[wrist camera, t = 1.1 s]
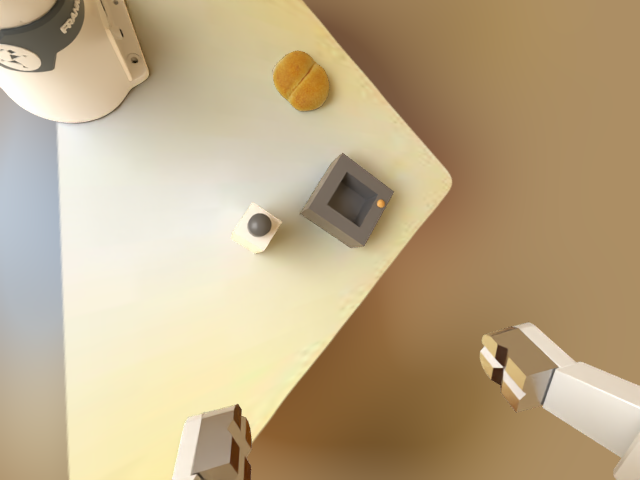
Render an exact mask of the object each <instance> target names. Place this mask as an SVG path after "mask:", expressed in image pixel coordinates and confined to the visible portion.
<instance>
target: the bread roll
mask: <svg viewBox="0 0 640 480" xmlns="http://www.w3.org/2000/svg"><path fill="white" fill-rule="evenodd" d="M273 81H274V85H275V87H276V89H277V90H278V92H279V93H280V94H281V95H282V96H283V97H284V98H285V99H286V100H287V101H289V103H290V104H291V105H292V106H293V107H294V108H295V109H297V110H299V111H309V110H314V109H317V108H319V107H321V105H323V103H324V102H325V100H326V99H327V96H328V93H329V81H328V77H327V75H326V72H325V70H324V69H323V68H322V67H321V66H320V65H318V64H317V63H316V62H315V61H314V60H313V59H312V58H311V57H310V56H309V55H308V54H306V53H305V52H302V51H294V52H291V53H289V54H287V55H285V57H283V58H282V59H281V60H280V61H279V62H278V63H277V64H276V65H275V66H274V68H273Z"/></svg>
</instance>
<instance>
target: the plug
mask: <svg viewBox="0 0 640 480" xmlns="http://www.w3.org/2000/svg"><path fill="white" fill-rule="evenodd" d="M281 223H282V221H281V220H279V219H278V218H276V217H275V216H273V215H272V214H270V213H269V212H267V211H265V210H264V209H262V208H261V207H259V206H258V205H256V204H255V203H253V202H252V204H251V205H250V207H249V208H248V210H247V211H246V213H245V214H244V216H243V217H242V218H241V220H240V221H239V223H238V224H237V226H236V227H235V229H234V230H233V232H232V236H231V240H233V241H235V242H236V243H238V244H240V245H241V246H243V247H244V248H246V249H248V250H249V251H251V252H253V253H254V254H255V253H259V252H262V251H264V250H265V248H266V247H267V245H268V244H269V242H270V241H271V239H272V237H273V236H274V234H275V233H276V231H277V230H278V228H279V226H280V225H281Z"/></svg>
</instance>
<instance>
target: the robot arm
mask: <svg viewBox="0 0 640 480" xmlns="http://www.w3.org/2000/svg"><path fill="white" fill-rule="evenodd" d="M133 61H138V62H137V63H132V62H133ZM148 76H149V70H148V67H147V64H146V61H145V58H144V56H143V53H142V50H141V47H140V44H139V41H138V39H137V36H136V33H135V30H134V27H133V24H132V21H131V19H130V16H129V13H128V10H127V7H126V4H125V2H124V0H0V87H1V88H2V89H3V90H4V91H5V92H6V93H7V94H8V96H9V97H10V98H11V99H13V101H15V102H16V103H17V104H18V105H20V106H21V107H22V108H24V109H26V110H27V111H29V112H31V113H33V114H35V115H37V116H40V117H42V118H45V119H49V120H52V121H57V122H66V123H79V122H86V121H91V120H95V119H98V118H100V117H103V116H105V115H107V114H108V113H110V112H111V111H113V110H114V109H115V108H116V107H118V106H119V104H120V103H121V102H122V101H123V100H124V98H125V97H126V95H127V94H128V92H129V91H130V90H131V89H132V88H133V87H135V86H137V85H138V84H140V83H142V82H143V81H145V80H146V79H147V78H148ZM482 343H483V345H484V348H483V349H482V350H481V351H480V360H481V364H482V367H483V369H484V370H485V372H486V374H487V375H488V376H489V378H490V379H491V380H492V381H494V382H496V383H497V384H499V385H500V388H501V394H502V395H503V396H504V398H505V399H506V400H507V402H508V403H509V404H510V405H511V407H512V408H513V409H514V411H515V412H516V413H517V412H521V411H524V410H528V409H532V408H536V407H539V406H543V408H544V409H546V410H547V411H549V412H550V413H552V414H553V415H555V416H557V417H558V418H560V419H561V420H563V421H564V422H566V423H568V424H569V425H571V426H572V427H574V428H575V429H577V430H579V431H580V432H582V433H583V434H585V435H587V436H589V437H590V438H591V439H593V440H594V441H596V442H598V443H599V444H601V445H602V446H604V447H605V448H607V449H609V450H610V451H612V452H613V453H615V454H616V455H618V456H620V457H621V460H620V461H619V463H618V464H617V466H616V468H615V469H614V477H615V478H616V479H617V480H640V386H638V385H636V384H634V383H631V382H629V381H626V380H624V379H622V378H619V377H617V376H614V375H612V374H609V373H607V372H605V371H602V370H600V369H597V368H595V367H593V366H590V365H588V364H585V363H583V362H577V363H576V362H575V361H574V360H573V359H572V358H571V357H569V356H568V355H567V354H566V353H565V352H564V351H563V350H562V349H560V348H559V347H558V346H557V345H556V344H555V343H554V342H553V341H552V340H550V339H549V338H548V337H547V336H546V335H545V334H544V333H543V332H541V331H540V330H539V329H538V328H537V327H536V326H535V325H533V324H531V323H523V324H520V325H516V326H513V327H512V326H511V327H508V328H504V329H501V330H498V331H495V332H491V333H488V334H485V335H484V336H483V337H482ZM241 413H242V409H241V408H240V406H239V405H238V404H236V405H232V406H228V407H224V408H221V409H217V410H213V411H209V412H205V413H201V414H198V415H194V416H191V417H188V418H187V420H186V422H185V424H184V428H183V432H182V437H181V441H180V446H179V450H178V455H177V459H176V464H175V468H174V473H173V478H172V480H251V465H250V464H249V462H248V460H247V457H248V455H249V453H250V451H251V448H252V439H251V430H250V426H249V423H248V420H247V419H246V417H243V416H241Z"/></svg>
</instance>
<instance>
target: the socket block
mask: <svg viewBox="0 0 640 480" xmlns="http://www.w3.org/2000/svg"><path fill="white" fill-rule="evenodd" d="M393 193H394V191H392V190H391V189H390V188H388V187H387V186H386V185H384V184H383V183H382V182H380V181H379V180H378V179H377V178H375V177H374V176H373V175H371V174H370V173H369V172H367V171H366V170H365V169H363V168H362V167H361V166H359V165H358V164H357V163H355V162H354V161H353V160H351V159H350V158H349V157H348V156H346V155H345V154H344V153H342V154H341V155H340V156H339V157H338V158H336V159H335V160H334V161H333V162H332V163H331V164H330V166H329V168H328V169H327V171H326V172H325V174H324V176H323V177H322V179H321V180H320V182H319V184H318V185H317V187H316V189H315V190H314V192H313V193H312V195H311V197H310V198H309V200H308V201H307V203H306V205H305V206H304V208H303V209H302V211H301V213H300V214H301V215H303V216H304V217H306V218H307V219H309V220H310V221H312V222H313V223H314V224H316V225H317V226H319V227H320V228H322V229H323V230H325V231H326V232H328V233H329V234H331V235H332V236H334V237H335V238H337V239H338V240H340V241H341V242H343V243H344V244H346V245H347V246H349V247H350V248H353V247H362V246H365V244H366V242H367V240H368V238H369V236H370V235H371V233H372V231H373V229H374V227H375V226H376V224H377V222H378V220H379V218H380V216H381V215H382V213H383V211H384V209H385V207H386V205H387V204H388V202H389V200H390V198H391V196H392V195H393Z"/></svg>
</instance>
